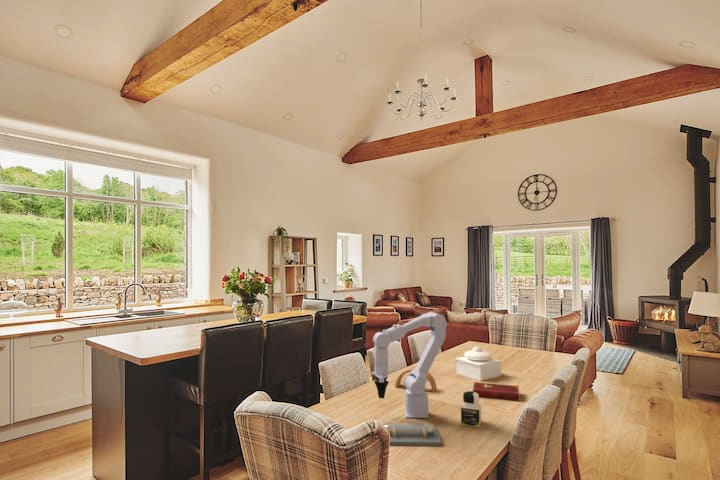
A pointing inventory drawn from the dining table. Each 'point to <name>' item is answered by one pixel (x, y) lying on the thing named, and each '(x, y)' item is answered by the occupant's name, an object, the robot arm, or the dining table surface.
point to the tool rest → (416, 439)
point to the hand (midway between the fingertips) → (381, 394)
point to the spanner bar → (410, 428)
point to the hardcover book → (497, 391)
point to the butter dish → (478, 365)
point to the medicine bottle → (471, 409)
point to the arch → (427, 378)
